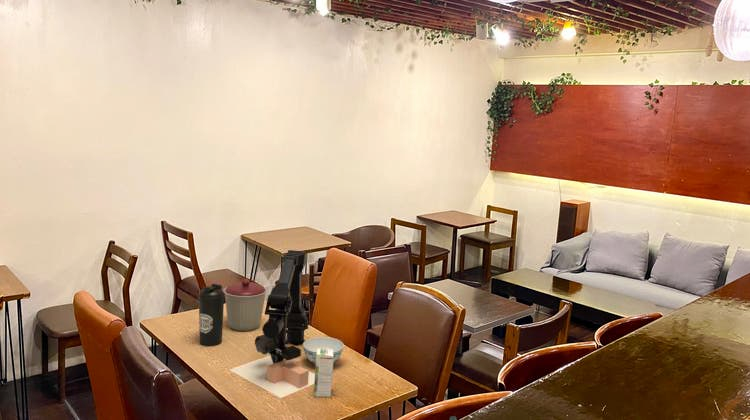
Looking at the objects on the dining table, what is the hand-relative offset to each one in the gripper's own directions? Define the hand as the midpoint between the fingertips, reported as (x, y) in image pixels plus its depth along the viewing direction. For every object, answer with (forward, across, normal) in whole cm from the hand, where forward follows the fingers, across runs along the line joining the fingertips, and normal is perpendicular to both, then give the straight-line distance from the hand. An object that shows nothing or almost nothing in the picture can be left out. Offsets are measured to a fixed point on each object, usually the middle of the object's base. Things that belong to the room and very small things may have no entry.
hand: (276, 369), depth 200 cm
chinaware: (+2, +5, +18) cm, 19 cm away
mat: (+2, +1, -1) cm, 2 cm away
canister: (+2, -44, +19) cm, 48 cm away
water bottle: (+2, -39, -1) cm, 39 cm away
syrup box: (+2, +21, +2) cm, 21 cm away
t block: (+1, +8, 0) cm, 8 cm away
